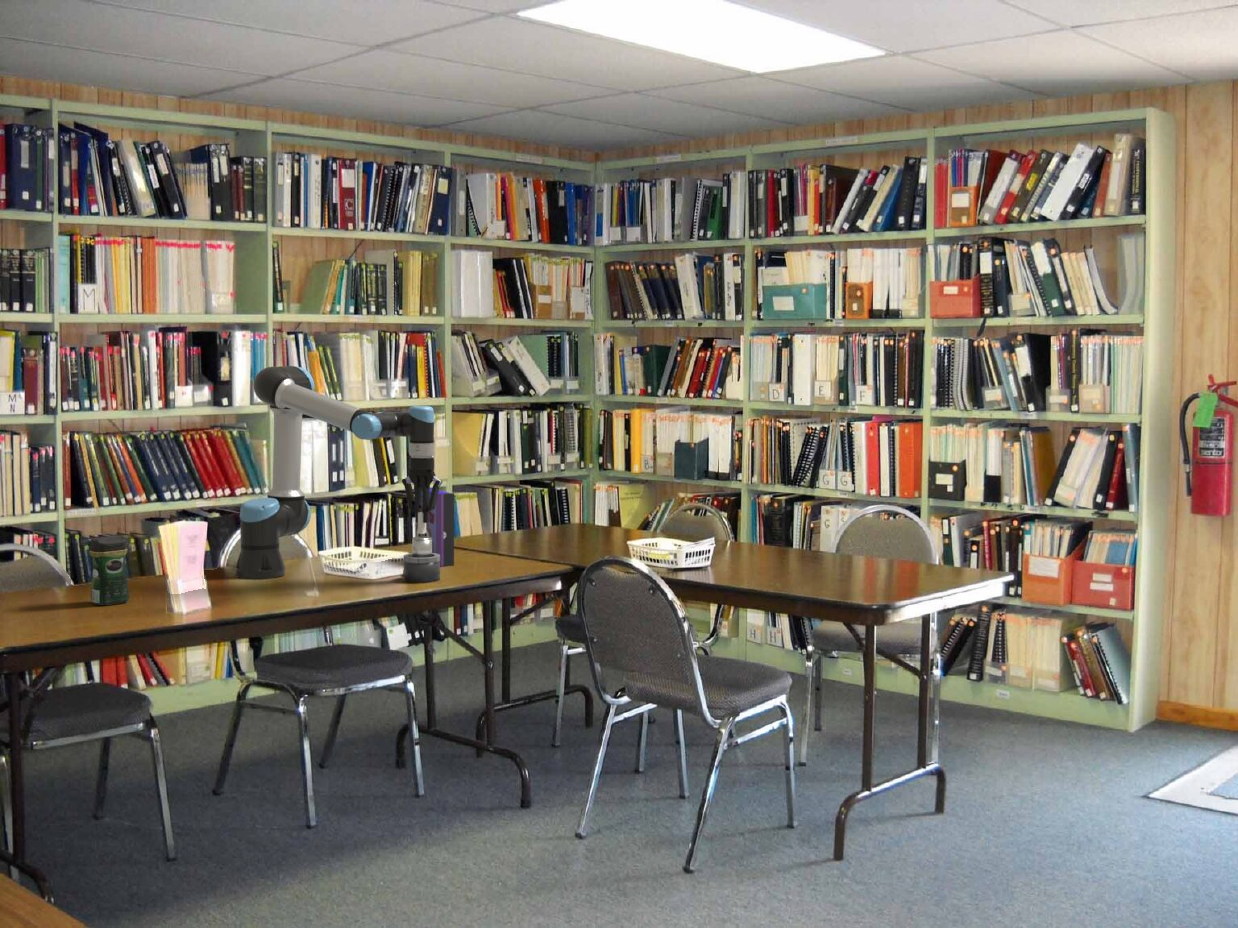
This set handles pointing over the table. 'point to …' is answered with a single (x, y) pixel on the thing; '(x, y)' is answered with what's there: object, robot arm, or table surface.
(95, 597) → the coffee jar
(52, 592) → the table surface
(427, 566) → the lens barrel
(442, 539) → the cereal box
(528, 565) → the table surface
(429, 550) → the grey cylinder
